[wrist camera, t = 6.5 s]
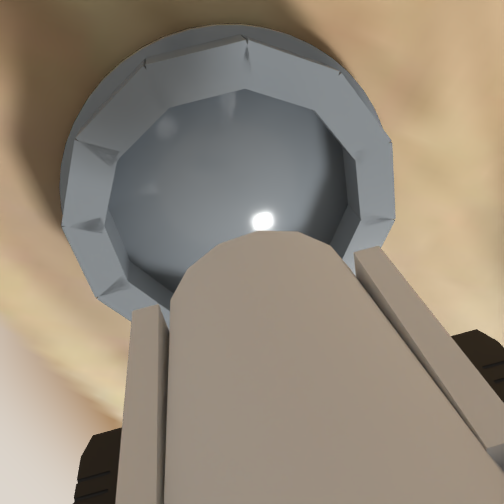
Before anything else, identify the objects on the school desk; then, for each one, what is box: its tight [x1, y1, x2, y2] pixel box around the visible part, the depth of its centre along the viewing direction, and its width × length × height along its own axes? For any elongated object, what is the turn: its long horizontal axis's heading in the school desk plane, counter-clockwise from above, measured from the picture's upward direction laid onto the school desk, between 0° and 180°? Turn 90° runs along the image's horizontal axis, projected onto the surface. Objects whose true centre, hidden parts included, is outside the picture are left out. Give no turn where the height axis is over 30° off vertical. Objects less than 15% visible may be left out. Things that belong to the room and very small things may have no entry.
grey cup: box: [164, 231, 504, 504], centre depth 10 cm, size 7×7×10 cm
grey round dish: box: [60, 24, 395, 329], centre depth 20 cm, size 14×14×2 cm
